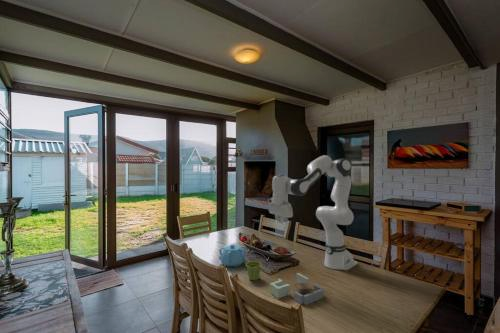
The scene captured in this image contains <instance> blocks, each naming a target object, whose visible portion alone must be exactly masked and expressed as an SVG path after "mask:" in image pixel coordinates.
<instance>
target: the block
mask: <svg viewBox="0 0 500 333" xmlns="http://www.w3.org/2000/svg"><path fill="white" fill-rule="evenodd" d="M309 285H310V283H309V284H308V283H297V282H296V291H297V292H298V293H300V294H302V295H306V294H309V293H311V292H312V288H311V286H309Z"/></svg>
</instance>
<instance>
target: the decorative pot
mask: <svg viewBox="0 0 500 333" xmlns="http://www.w3.org/2000/svg"><path fill="white" fill-rule="evenodd" d="M222 250H223V252H222ZM246 253H247V251H246V249H245V248H242V247H241V246H240V245H237V244H234V243H232V244H229V245H226V246H225V247H220V249H219V254H220V256H219V257H218V259H219V260H220V262H221V264H222V265H223V264H224V266H225V265H226V266H227V267H234V268H238V267H240V266H241V265H242V264H243V262H247V257H246ZM226 266H225V267H226Z"/></svg>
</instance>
